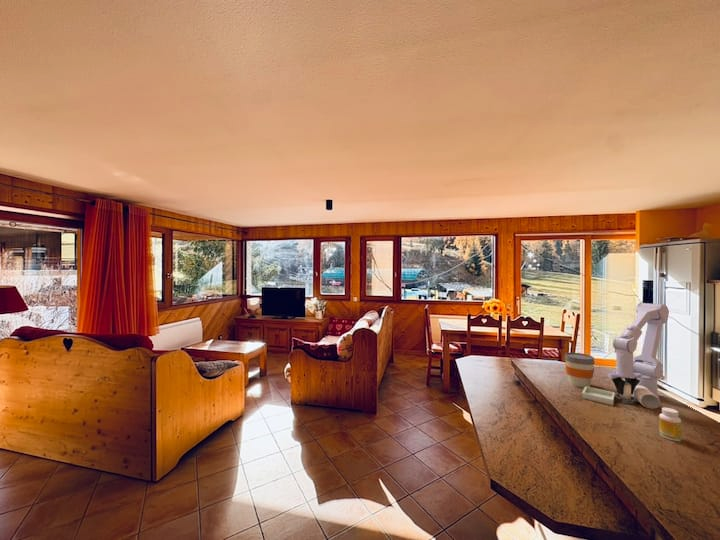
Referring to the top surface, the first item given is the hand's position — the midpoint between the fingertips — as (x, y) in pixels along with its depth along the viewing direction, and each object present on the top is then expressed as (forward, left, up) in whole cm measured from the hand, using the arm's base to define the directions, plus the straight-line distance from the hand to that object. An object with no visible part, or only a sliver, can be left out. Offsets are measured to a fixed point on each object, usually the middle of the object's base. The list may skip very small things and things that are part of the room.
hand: (625, 393), depth 132 cm
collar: (0, 0, -3) cm, 3 cm away
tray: (+5, -9, -3) cm, 11 cm away
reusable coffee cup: (-9, -18, -3) cm, 20 cm away
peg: (0, 0, -2) cm, 2 cm away
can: (+4, +8, 0) cm, 9 cm away
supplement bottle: (+28, +13, -3) cm, 31 cm away
